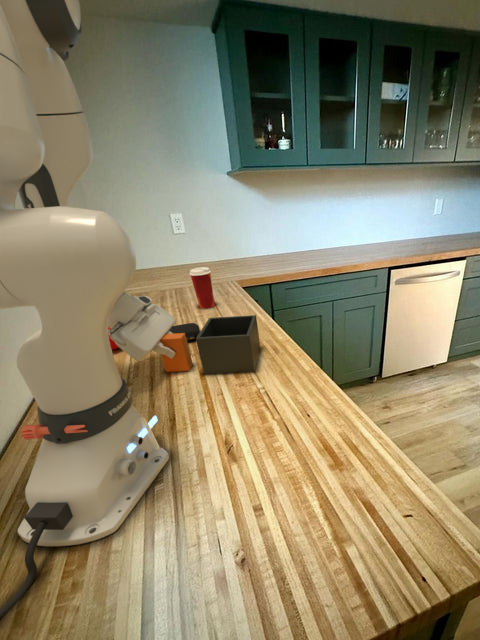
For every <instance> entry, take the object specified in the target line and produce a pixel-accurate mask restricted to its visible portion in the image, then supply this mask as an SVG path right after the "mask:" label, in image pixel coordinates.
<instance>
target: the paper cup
mask: <svg viewBox="0 0 480 640" xmlns="http://www.w3.org/2000/svg"><path fill="white" fill-rule="evenodd" d="M211 272H212V271H211V269H210V268H209V267H207V266H202V267H201V266H200V267H195V268H192V269H190V270H189V276H190V277H191V282H192V285H193V289H194V292H195V296H196V300H197V303H198V306H199V308H200V309H203V310H205V309H212V308H214V307H215V300H214V299H215V298H214V290H213V284H212V276H211Z"/></svg>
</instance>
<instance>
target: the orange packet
mask: <svg viewBox="0 0 480 640" xmlns="http://www.w3.org/2000/svg"><path fill="white" fill-rule="evenodd" d="M159 342H161V343H162V344H163V346H165V347H167V348H173V349H174V350H176V352H177V353H176V354H175V355H174V357H173V358H169V357H168V356H166V355H163V354H160V356H161V360H162V363H163V366H164V369H165V372H166V373H174V372H190V371H191V369H192V367H193V364H194V363H193V359H192V356H191V352H190V348H189V344H188V341H187V339H186V335H185V333H176V334H165V335H164V336H163V338H162V339H161V340H160V341H159Z"/></svg>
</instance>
